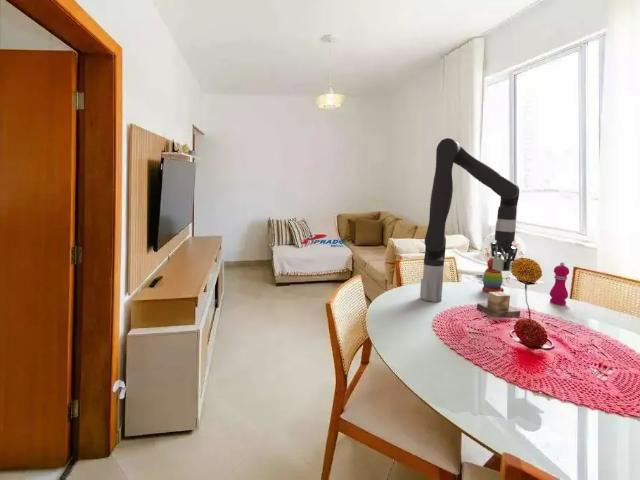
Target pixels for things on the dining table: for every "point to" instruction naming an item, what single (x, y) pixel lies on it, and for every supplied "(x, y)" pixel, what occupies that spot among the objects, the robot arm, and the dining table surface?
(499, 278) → the stacking bear
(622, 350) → the dining table surface
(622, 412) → the dining table surface
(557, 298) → the pepper mill
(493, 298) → the oak cube
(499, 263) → the green cube
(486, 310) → the base board
